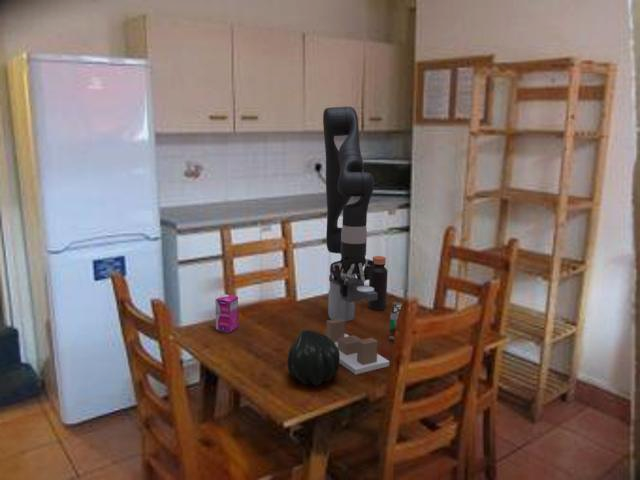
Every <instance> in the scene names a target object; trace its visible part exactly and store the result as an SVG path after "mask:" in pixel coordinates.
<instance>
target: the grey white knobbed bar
mask: <svg viewBox="0 0 640 480" xmlns="http://www.w3.org/2000/svg"><path fill="white" fill-rule="evenodd" d="M328 276H329V277H328V281H329V283H330V282H332V283H334V284H336V285H338V286H340V284H339V283H337V282H335V281H334V277H333V274H332V275H330V274H328ZM377 298H378V293H377V292H375V291H374V288H373V287H369V285H364V286H363V281H362V280H360V279H358V278H357V277H356V278H349V279H348V282H347V296H346V297H343V296H341V299H343V300H345V301H346V302H354V301H355V302H360V301H363V300H366V301H367V302H368V301H373V300H377Z"/></svg>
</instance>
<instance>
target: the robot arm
mask: <svg viewBox="0 0 640 480" xmlns="http://www.w3.org/2000/svg"><path fill="white" fill-rule="evenodd" d="M322 122H323V123H322V124H323V125H322V126H323V137H324V148H325V149H324V150H325V151H324V152H325V191H326V209H327V212H326V214H327V215H326V216H327V217H326V239H325V242H326V248H327V251H328V252H329V253H333V254H338V255H339V254H340V256H341V257H340V260H337V261H333V262H332V263H331V264H330V267H329V272H330V273H329V275H332V274H333V277H334V281H335V282H337V283H339V284H340V286H338V285H336V284H334V283H332V282H330V281H329V290H328V303H327V304H328V305H327V306H328V307H327V315H328V319H329V320H334V319H339V318H340V319H342V320H343V321H345V322H350V321H353V320H354V318H355V304H356V301H354V302H346V301H345V300H343V299H341V296H343V297H346V296H347V282H348V279H349V278H358V279H360V280H362V281H363V286H365V283H366V281H369V279H370V277H371V273H372V269H373V264H374V261H373V259H372V260H371V259H369V258H367V259H366V255H367V243H368V242H367V239H368V237H367V236H368V230H367V222H368V219H367V218H368V217H367V216H368V208H369V205H370V202H371V201H370V200H371V197H372V194H373V192H374V188H375V179H374V176H373V175H372V174H371V173H370V172H364V168H365V166H364V161H363V157H362V153H361V145H360V128H359V127H360V126H359V119H358V113H357V110H356V109H355V108H354V107H353V106H336V107H335V106H334V107H326V108H325V109H324V111H323V115H322ZM342 136H343V137H344V136H345V137H346V136H347V137H346V138H345V140H343V142H342V144H341V145H340V147H339V148H337V147H338V146H337V145H336V142H335V137H342ZM338 149H339V150H338ZM352 197H359V199H358V200H357V201H356V202H353V203H349V201H350V199H352ZM348 203H349V204H348ZM341 214H342V224H341V226H342V227H338V224H339V223H338V222H339V219H340V216H341Z"/></svg>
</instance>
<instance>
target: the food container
mask: <svg viewBox="0 0 640 480" xmlns="http://www.w3.org/2000/svg"><path fill="white" fill-rule="evenodd" d="M402 304H403V303H400V302H397V301H396V302H395V301H392V309H391V312H390V313H389V316H390V317H389V337H388V339H389V340H388V341H389V342H394V341H393V339H394V335H395V332H396V324H397V319H398V315H399V312H400V309H401V306H402Z"/></svg>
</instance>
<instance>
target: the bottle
mask: <svg viewBox="0 0 640 480" xmlns="http://www.w3.org/2000/svg"><path fill="white" fill-rule="evenodd" d="M386 259H387V257H385V256H383V255H382V256H381V255H375V256H373V257H372V261H374V264H373V269H372V273H371V277H370V279H369V280H368V281H369V284H368V286H369V287H373V288H374V291H375V292H377V293H378V298H377V300H373V301H367V304H368V305H367V307H368V308H369V309H370V310H373V311H383V309H384V310H385V309H386V308H387V291H388V269H387V268H386V267H385V266H386V263H387V262H386Z"/></svg>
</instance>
